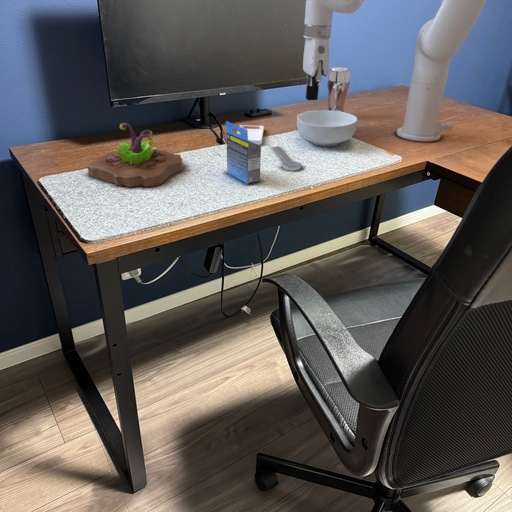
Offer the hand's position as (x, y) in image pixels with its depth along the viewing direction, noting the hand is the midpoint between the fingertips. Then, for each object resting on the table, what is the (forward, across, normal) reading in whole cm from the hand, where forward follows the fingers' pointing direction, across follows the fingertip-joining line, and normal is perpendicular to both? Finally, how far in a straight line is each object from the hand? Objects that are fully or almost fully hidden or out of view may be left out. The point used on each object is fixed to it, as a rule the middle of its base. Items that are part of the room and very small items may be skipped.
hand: (311, 99), depth 145 cm
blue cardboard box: (+9, -37, +28) cm, 47 cm away
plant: (+9, -29, +52) cm, 60 cm away
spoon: (+9, -27, +15) cm, 32 cm away
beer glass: (+9, +13, -13) cm, 21 cm away
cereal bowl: (+9, -14, 0) cm, 17 cm away
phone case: (+9, -6, +20) cm, 23 cm away
